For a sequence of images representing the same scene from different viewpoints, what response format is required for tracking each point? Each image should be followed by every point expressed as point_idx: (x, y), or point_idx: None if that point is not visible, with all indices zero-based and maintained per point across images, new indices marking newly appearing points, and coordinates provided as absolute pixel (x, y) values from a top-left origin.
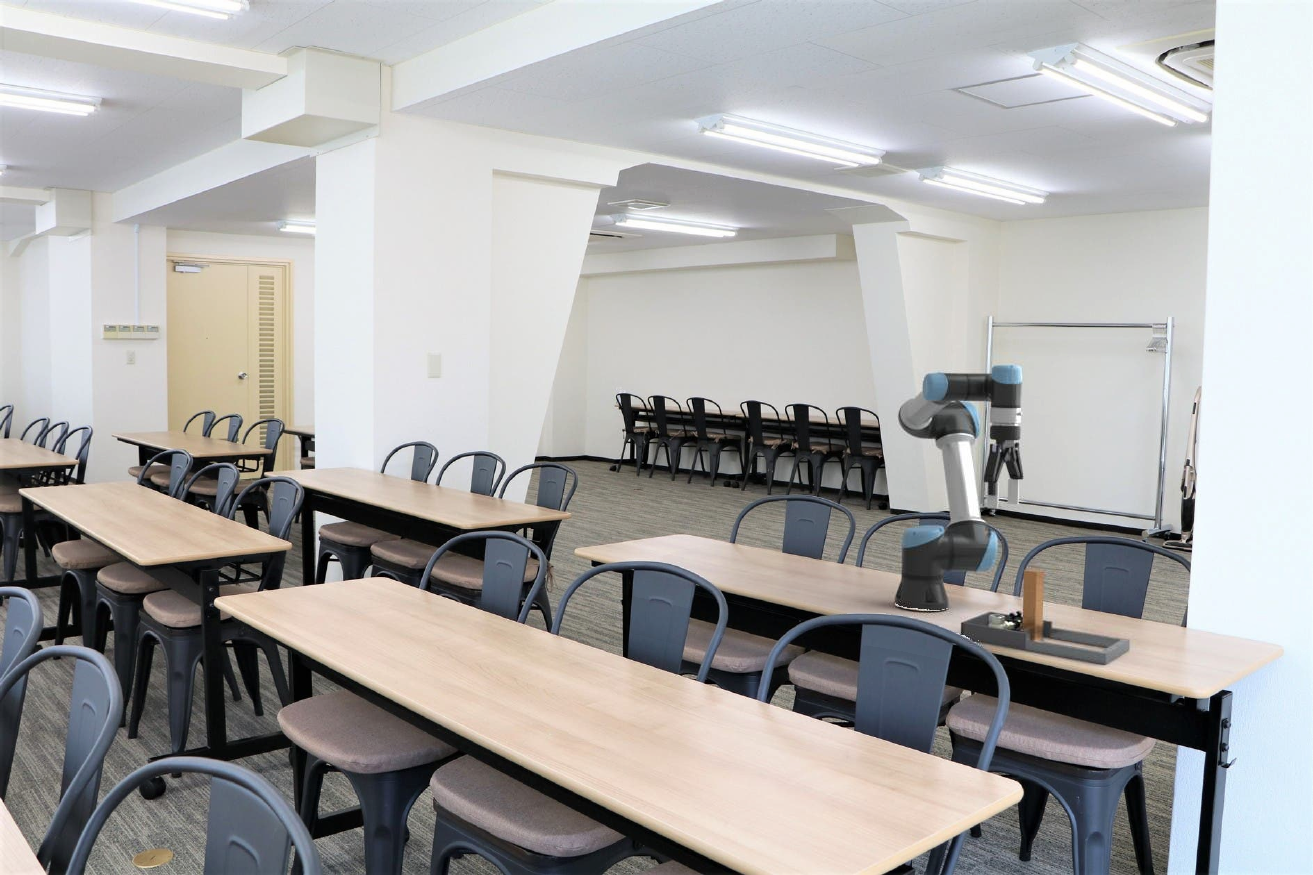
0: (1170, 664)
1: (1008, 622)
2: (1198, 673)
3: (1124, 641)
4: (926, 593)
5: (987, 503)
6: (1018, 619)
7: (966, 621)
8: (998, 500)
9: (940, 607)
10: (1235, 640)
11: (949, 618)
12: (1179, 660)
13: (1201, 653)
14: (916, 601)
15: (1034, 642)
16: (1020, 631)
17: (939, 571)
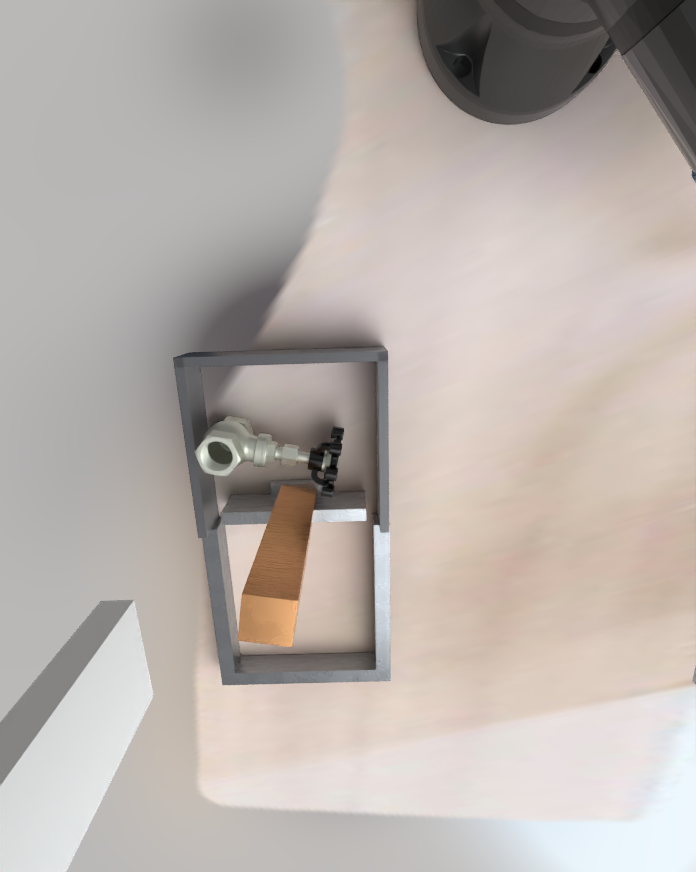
0: (327, 738)
1: (281, 457)
2: (299, 780)
3: (364, 678)
4: (467, 34)
5: (74, 640)
6: (378, 443)
7: (200, 362)
8: (104, 783)
9: (483, 113)
10: (626, 769)
11: (403, 199)
12: (371, 741)
13: (460, 753)
14: (429, 21)
15: (205, 548)
16: (221, 513)
17: (568, 11)
